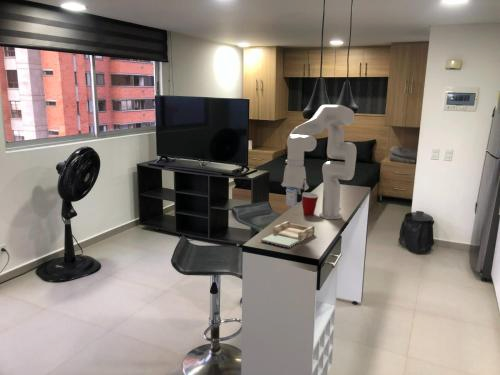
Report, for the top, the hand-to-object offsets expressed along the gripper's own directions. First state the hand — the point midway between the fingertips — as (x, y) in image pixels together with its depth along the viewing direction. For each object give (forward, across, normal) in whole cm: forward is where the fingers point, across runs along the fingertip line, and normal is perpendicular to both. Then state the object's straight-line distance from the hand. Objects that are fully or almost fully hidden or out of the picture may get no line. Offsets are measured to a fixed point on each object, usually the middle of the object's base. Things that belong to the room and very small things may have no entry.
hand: (294, 200), depth 195 cm
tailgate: (+16, 0, -7) cm, 17 cm away
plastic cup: (+18, -12, +39) cm, 45 cm away
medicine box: (+2, 0, 0) cm, 2 cm away
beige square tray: (+17, 0, 0) cm, 17 cm away
